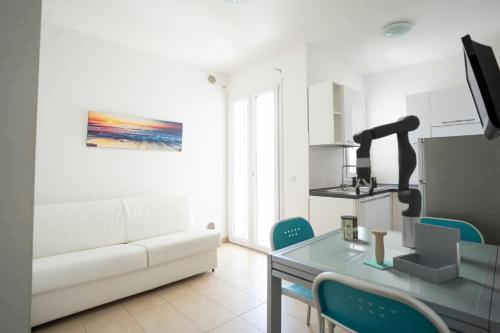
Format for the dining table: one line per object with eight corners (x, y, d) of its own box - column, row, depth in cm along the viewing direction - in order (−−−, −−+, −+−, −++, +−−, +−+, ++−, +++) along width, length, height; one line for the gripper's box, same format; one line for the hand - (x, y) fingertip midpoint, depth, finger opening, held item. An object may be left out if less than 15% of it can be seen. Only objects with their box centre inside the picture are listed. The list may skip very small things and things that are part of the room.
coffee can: (354, 236, 173) (353, 215, 173) (360, 240, 163) (360, 218, 163) (338, 236, 173) (338, 215, 174) (344, 240, 163) (343, 218, 163)
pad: (377, 259, 127) (377, 258, 127) (396, 266, 118) (396, 264, 118) (363, 262, 123) (363, 261, 123) (382, 270, 114) (381, 268, 114)
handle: (372, 260, 124) (371, 229, 125) (387, 262, 121) (386, 230, 122) (372, 263, 120) (371, 231, 120) (387, 266, 117) (387, 232, 117)
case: (417, 262, 123) (415, 222, 123) (463, 276, 106) (462, 229, 106) (393, 268, 116) (392, 225, 116) (439, 284, 99) (437, 234, 99)
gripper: (379, 166, 139) (380, 196, 139) (357, 166, 152) (358, 194, 152) (369, 166, 136) (371, 197, 136) (348, 166, 149) (349, 195, 148)
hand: (364, 195), depth 144 cm, fingers open, 8 cm apart
